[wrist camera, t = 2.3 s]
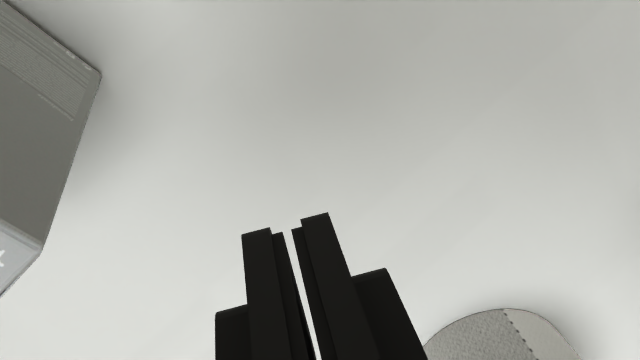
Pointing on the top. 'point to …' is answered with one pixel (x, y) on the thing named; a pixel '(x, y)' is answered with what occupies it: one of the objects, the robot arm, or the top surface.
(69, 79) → the skincare box
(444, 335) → the toilet paper roll
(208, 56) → the top surface
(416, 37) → the top surface
